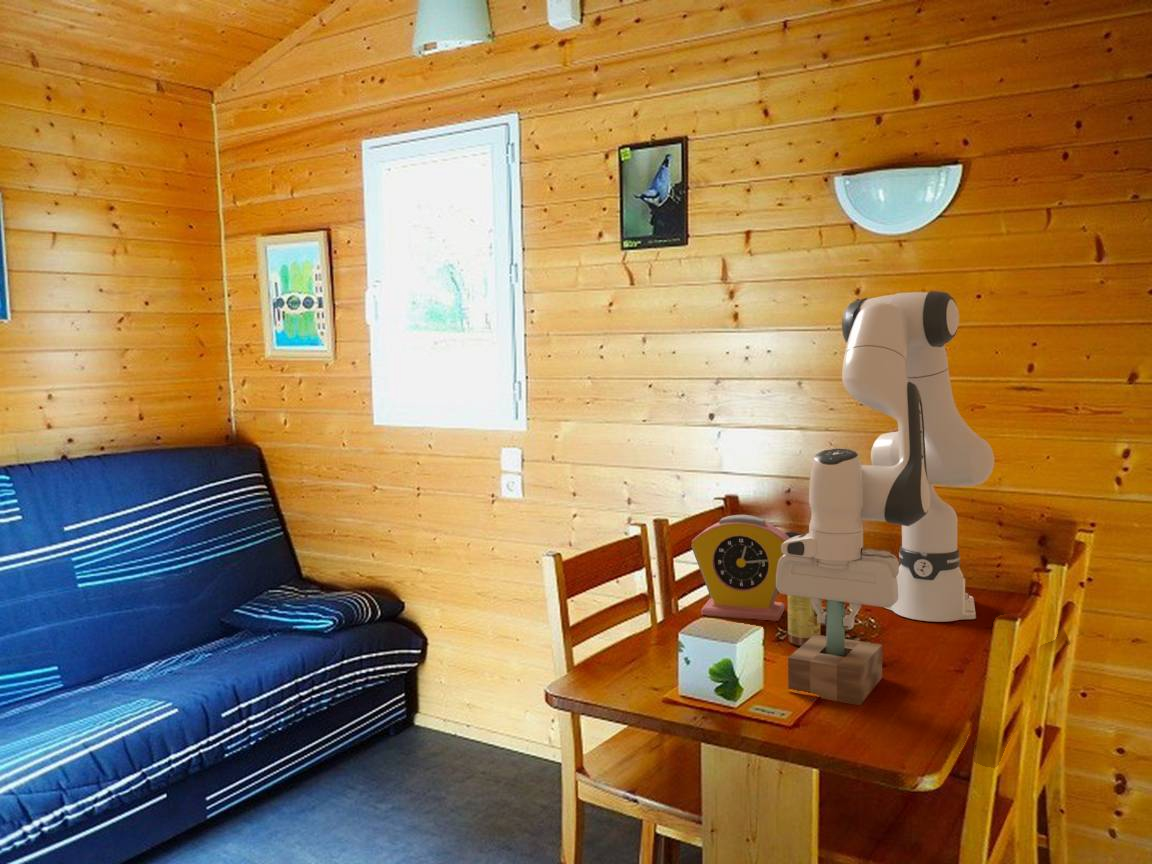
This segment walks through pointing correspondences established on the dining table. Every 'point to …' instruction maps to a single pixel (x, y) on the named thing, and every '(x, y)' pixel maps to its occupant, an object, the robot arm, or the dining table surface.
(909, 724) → the dining table surface
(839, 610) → the peg
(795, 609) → the sauce bottle
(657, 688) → the dining table surface
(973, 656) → the dining table surface
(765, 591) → the yellow mantel clock
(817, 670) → the hole block
